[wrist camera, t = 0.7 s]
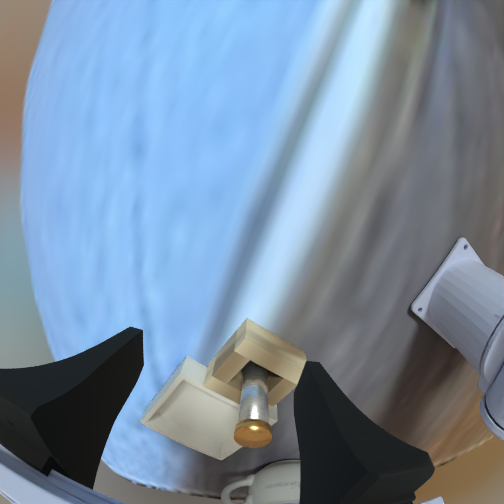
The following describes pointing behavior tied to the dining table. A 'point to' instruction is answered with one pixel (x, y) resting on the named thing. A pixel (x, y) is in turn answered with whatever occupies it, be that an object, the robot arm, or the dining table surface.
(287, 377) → the beige square frame
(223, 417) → the tray
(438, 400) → the dining table surface
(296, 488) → the teacup
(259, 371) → the pin
